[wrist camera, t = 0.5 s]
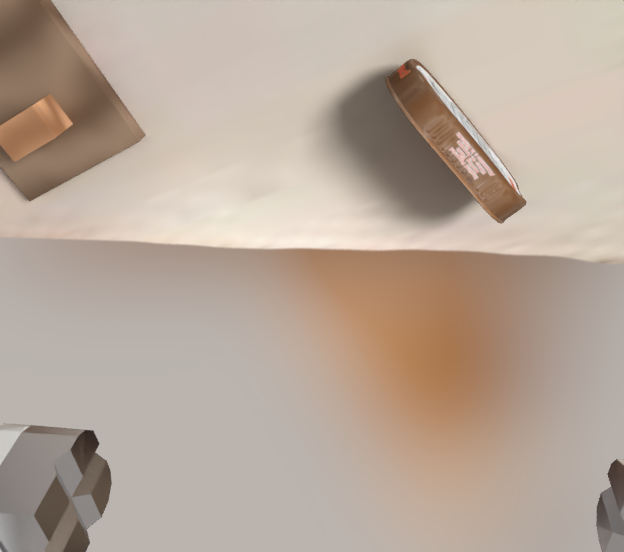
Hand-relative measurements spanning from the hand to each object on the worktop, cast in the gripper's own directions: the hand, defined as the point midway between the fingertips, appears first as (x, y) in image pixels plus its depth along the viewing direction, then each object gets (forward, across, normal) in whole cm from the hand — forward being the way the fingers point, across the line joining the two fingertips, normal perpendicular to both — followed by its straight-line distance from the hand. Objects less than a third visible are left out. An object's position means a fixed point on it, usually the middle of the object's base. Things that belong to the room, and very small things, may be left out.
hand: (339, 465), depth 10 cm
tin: (+44, -6, +11) cm, 45 cm away
